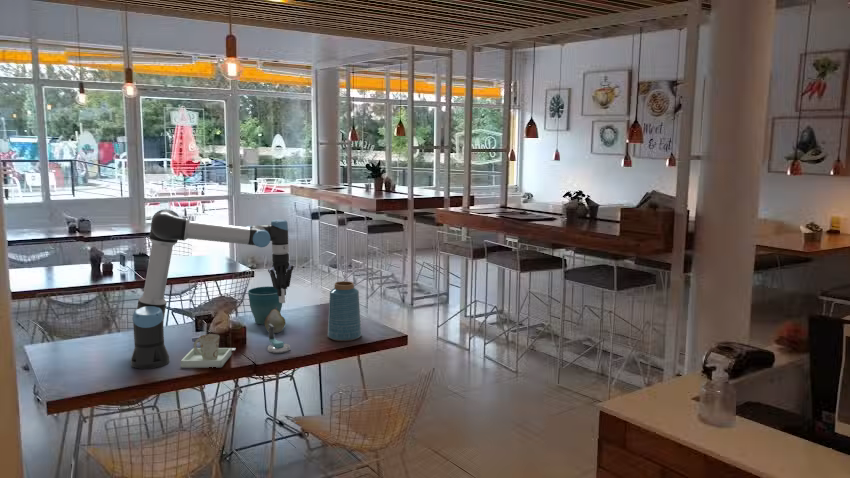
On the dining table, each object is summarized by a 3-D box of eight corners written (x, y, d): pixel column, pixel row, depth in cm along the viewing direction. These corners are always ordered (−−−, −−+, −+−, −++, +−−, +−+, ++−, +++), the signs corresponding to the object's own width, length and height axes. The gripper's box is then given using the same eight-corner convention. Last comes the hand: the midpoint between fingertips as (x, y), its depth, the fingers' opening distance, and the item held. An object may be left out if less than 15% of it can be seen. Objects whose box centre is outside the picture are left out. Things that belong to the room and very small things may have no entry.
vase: (367, 338, 320) (367, 284, 316) (337, 344, 311) (336, 288, 307) (351, 330, 334) (351, 278, 329) (322, 335, 324) (321, 282, 320)
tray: (180, 367, 277) (180, 360, 277) (193, 354, 294) (193, 348, 294) (221, 367, 278) (221, 360, 278) (231, 354, 295) (231, 348, 294)
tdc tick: (226, 350, 300) (226, 349, 300) (228, 349, 302) (228, 348, 302) (234, 350, 300) (234, 349, 300) (235, 349, 302) (235, 348, 302)
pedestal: (265, 353, 297) (265, 350, 296) (270, 346, 306) (270, 343, 306) (288, 353, 297) (288, 350, 297) (291, 346, 307) (291, 343, 307)
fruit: (284, 328, 335) (284, 305, 333) (286, 333, 326) (286, 310, 325) (263, 330, 332) (263, 306, 330) (265, 335, 323) (265, 311, 321)
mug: (212, 363, 281) (211, 340, 280) (187, 360, 285) (186, 337, 283) (224, 357, 289) (223, 335, 288) (199, 354, 293) (198, 332, 291)
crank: (285, 347, 301) (284, 331, 300) (275, 348, 298) (275, 332, 297) (274, 338, 313) (274, 323, 312) (265, 340, 311) (264, 324, 310)
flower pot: (265, 328, 334) (265, 296, 332) (241, 323, 344) (240, 291, 341) (291, 320, 349) (290, 289, 347) (267, 315, 359) (266, 284, 356)
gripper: (273, 255, 301) (274, 306, 304) (296, 252, 310) (298, 301, 314) (263, 253, 306) (265, 303, 309) (287, 250, 315) (288, 298, 319)
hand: (282, 302), depth 312 cm, fingers closed
